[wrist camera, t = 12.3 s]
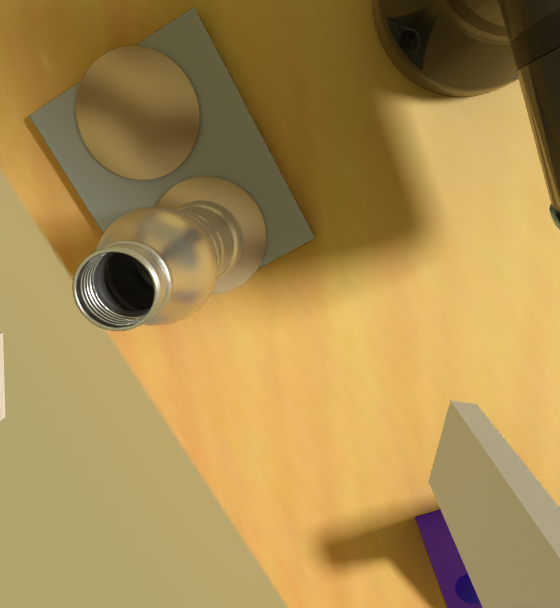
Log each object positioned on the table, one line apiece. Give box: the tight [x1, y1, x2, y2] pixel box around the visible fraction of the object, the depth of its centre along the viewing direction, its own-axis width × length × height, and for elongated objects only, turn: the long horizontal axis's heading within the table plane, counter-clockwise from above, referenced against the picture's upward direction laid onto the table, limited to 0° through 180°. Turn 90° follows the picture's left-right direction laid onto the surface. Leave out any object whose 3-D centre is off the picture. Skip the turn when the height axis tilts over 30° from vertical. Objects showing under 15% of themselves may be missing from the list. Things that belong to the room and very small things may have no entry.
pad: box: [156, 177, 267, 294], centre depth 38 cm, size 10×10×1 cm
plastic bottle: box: [72, 200, 243, 331], centre depth 28 cm, size 6×7×20 cm
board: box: [29, 7, 315, 269], centre depth 38 cm, size 20×16×1 cm
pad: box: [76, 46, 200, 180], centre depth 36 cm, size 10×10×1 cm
